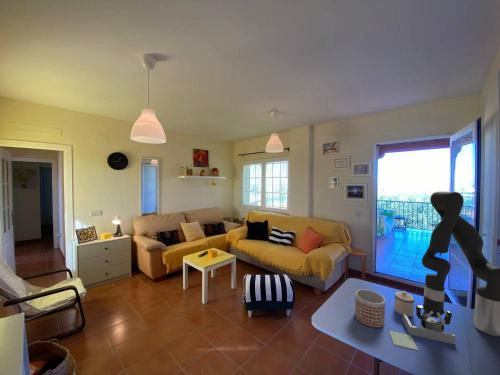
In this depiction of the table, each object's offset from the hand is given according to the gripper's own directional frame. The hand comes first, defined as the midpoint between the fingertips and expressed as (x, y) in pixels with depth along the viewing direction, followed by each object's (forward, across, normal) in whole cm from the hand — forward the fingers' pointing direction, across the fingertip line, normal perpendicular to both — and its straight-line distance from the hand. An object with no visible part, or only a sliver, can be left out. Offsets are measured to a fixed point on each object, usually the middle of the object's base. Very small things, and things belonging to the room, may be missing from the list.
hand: (432, 328), depth 104 cm
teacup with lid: (+1, +9, -13) cm, 16 cm away
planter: (+1, +28, +2) cm, 28 cm away
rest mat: (+1, +16, +13) cm, 21 cm away
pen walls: (+1, +3, +2) cm, 4 cm away
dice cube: (+1, 0, +1) cm, 1 cm away
